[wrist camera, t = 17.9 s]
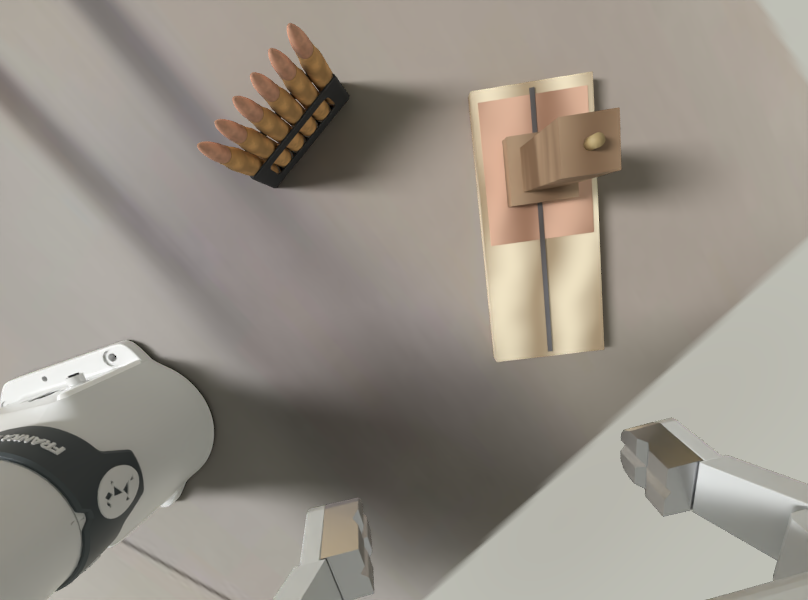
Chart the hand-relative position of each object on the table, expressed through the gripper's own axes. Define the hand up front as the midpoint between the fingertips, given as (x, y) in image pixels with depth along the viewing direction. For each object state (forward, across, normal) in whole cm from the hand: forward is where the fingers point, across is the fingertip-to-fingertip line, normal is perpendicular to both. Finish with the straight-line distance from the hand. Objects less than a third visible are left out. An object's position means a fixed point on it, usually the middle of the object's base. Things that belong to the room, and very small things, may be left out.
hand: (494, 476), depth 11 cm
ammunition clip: (+30, +6, -12) cm, 33 cm away
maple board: (+24, -13, 0) cm, 28 cm away
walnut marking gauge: (+24, -13, -6) cm, 28 cm away
